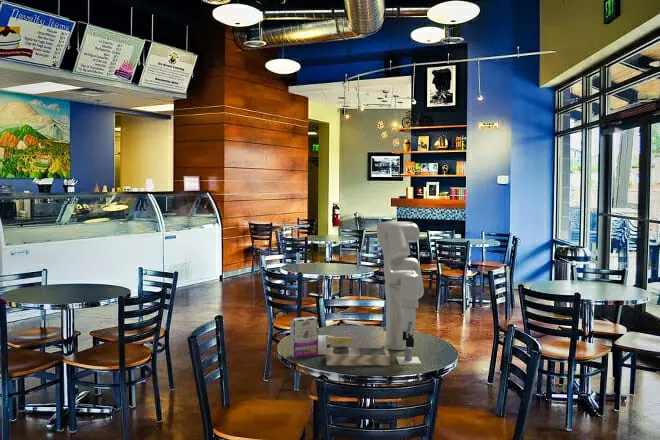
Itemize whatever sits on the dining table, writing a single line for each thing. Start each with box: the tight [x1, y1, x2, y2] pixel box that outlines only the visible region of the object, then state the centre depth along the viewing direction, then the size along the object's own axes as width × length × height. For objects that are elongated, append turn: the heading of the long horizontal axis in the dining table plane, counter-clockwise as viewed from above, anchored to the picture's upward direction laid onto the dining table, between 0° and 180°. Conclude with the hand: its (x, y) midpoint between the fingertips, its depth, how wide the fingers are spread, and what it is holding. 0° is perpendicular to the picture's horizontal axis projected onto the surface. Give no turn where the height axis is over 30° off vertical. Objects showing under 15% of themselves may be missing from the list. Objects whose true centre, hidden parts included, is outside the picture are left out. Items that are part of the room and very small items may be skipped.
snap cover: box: [395, 347, 422, 366], centre depth 247 cm, size 9×9×6 cm
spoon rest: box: [317, 334, 334, 356], centre depth 267 cm, size 24×12×7 cm, turn 3°
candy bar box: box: [289, 315, 319, 359], centre depth 254 cm, size 11×5×16 cm, turn 115°
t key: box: [329, 336, 352, 346], centre depth 262 cm, size 10×4×6 cm, turn 90°
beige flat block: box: [325, 345, 391, 367], centre depth 246 cm, size 26×12×6 cm, turn 91°
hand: (408, 343), depth 247 cm, fingers open, 9 cm apart
